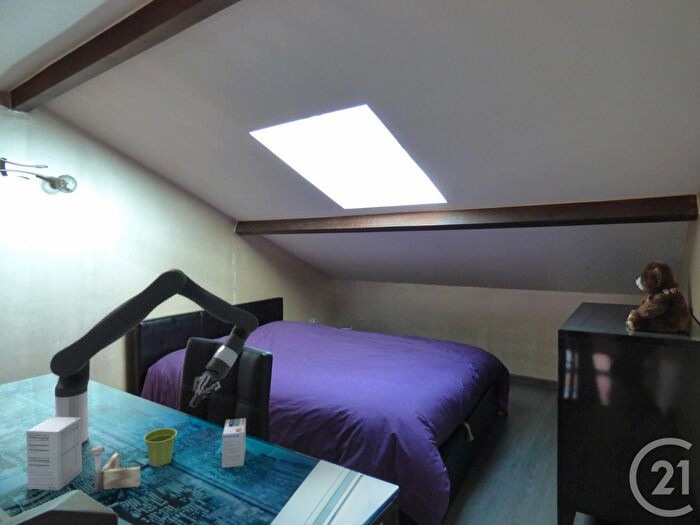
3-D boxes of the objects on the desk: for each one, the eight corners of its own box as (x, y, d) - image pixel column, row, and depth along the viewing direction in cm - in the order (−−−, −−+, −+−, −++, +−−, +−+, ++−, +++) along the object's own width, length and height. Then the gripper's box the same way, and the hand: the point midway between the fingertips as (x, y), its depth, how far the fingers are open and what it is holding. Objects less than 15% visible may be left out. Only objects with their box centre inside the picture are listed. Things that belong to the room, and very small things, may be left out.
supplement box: (53, 470, 118) (52, 415, 117) (83, 471, 118) (82, 416, 117) (26, 490, 108) (24, 430, 108) (58, 491, 108) (57, 431, 107)
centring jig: (80, 484, 111) (80, 443, 111) (117, 468, 120) (117, 430, 119) (104, 503, 103) (103, 459, 103) (142, 484, 111) (141, 444, 111)
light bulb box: (225, 450, 130) (225, 419, 130) (246, 448, 132) (246, 417, 131) (221, 468, 120) (221, 434, 120) (244, 466, 121) (244, 432, 121)
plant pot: (151, 454, 128) (151, 428, 127) (181, 453, 128) (181, 427, 128) (138, 470, 118) (138, 442, 118) (170, 469, 119) (170, 441, 119)
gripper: (204, 353, 143) (173, 396, 133) (227, 359, 135) (196, 405, 126) (217, 364, 147) (187, 406, 138) (240, 370, 140) (210, 416, 130)
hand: (192, 406), depth 132 cm, fingers closed
